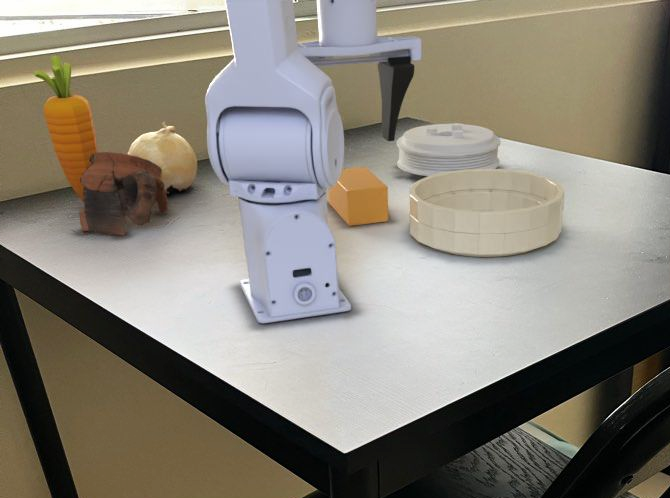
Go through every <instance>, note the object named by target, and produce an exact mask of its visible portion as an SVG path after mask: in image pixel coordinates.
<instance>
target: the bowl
mask: <svg viewBox="0 0 670 498" xmlns="http://www.w3.org/2000/svg"><path fill="white" fill-rule="evenodd" d="M408 188H409V234H410V235H411V237H413V238H414V239H415V240H416V241H417V242H418V243H421V244H423V245H425V246H427V247H430V248H432V249H434V250H436V251H439V252H443V253H447V254H451V255H456V256H463V257H475V258H498V257H507V256H508V257H509V256H514V255H515V256H516V255H520V254H525V253H528V252H532V251H534V250H537V249H539V248H542V247H545V246H548V245H549V244H551V243H552V242H554V241H556V240H557V239H558V238H559V236H560V234H561V232H562V228H563V227H562V226H563V215H564V205H565V195H566V194H565V193H566V191H565V189H564V188H563V185H562V184H561V183H559V182H558V181H556V180H555V179H552V178H550V177H548V176H544V175H541V174H538V173H534V172H529V171H523V170H517V169H505V168H504V169H503V168H502V169H501V168H495V169H466V170H457V171H449V172H444V173H439V174H435V175H431V176H424V177H423V178H420V179H419V180H416V181H415V182H414V183H413V184H412V185H411V186H410V187H408Z"/></svg>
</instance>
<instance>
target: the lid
mask: <svg viewBox="0 0 670 498" xmlns="http://www.w3.org/2000/svg"><path fill="white" fill-rule="evenodd" d="M396 146H397V148H398V150H399V151H398V154H399V155H398V156H399V157H398V159H397V162H396V165H397V168H399V169H400V170H402V171H404V172H406V173H409V174H413V175H416V176H424V177H428V176H431V175H435V174H439V173H444V172H449V171H457V170H466V169H498V167H499V166H500V162H501V161H500V158H499V157H498V156H499V155H498V154H499V150H498V149H499V147H500V146H501V139H500V137H498V135H496V134H495V133H494V131H493V130H491V129H490V128H487V127H483V126H480V125H474V124H466V123H461V122H460V123H459V122H454V123H435V124H426V125H421V126H416V127H413V128H410V129H408V130H406V131H404V133H403V135H402V136H400V137H399V138H398V139H397V140H396Z"/></svg>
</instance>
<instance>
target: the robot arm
mask: <svg viewBox="0 0 670 498" xmlns="http://www.w3.org/2000/svg"><path fill="white" fill-rule="evenodd" d="M224 4H225V9H226V10H225V11H226V15H227V21H228V22H227V23H228V27H229V34H230V39H231V46H232V52H233V59H232V60H231V61H230V62H229V63H228V64H227V65H226V66H225V67H224V68H223V69H222V70H221V71H220V72H219V73H218V74H217V75H215V77H214V78H213V80H212V81H211V83H209V86H208V88H207V89H206V93H205V96H204V98H205V99H204V105H205V110H206V111H205V112H206V123H207V127H206V145H207V153H208V158H209V163H210V166H211V168H212V170H213V171H214V174H215V176H217V178H218V179H219V180H220V182H221V183H222V184H224V185H226V186H228V189H229V196H230V197H236V198H237V199H238V207H239V214H240V215H239V216H240V223H241V229H242V237H243V245H244V253H245V260H246V267H247V274H248V278H243V279H241V280H240V281H239V286H240V289H241V290H242V292H243V294H244V297H245V299H246V300H247V303H248V305H249V307H250V309H251V311H252V313H253V315H254V317H255V319H256V321H257V322H258V323H259V324H268V323H276V322H284V321H289V320H290V321H291V320H296V319H297V320H298V319H301V318H302V319H303V318H309V317H316V316H323V315H330V314H337V313H344V312H349V311H351V310H352V304H351V303H350V301H349V300H348V298H347V297H346V296H345V294H344V293H343V292H342V291H341V289H340V287H339V277H338V276H339V275H338V263H337V262H338V260H337V247H336V246H337V245H336V238H335V235H334V233H333V230H332V228H331V227H330V225H329V217H328V216H329V215H328V203H327V202H328V201H327V191H328V189H331V188H332V187H333V186H334V185H335V183H336V182H337V181H338V180H339V178H340V176H341V173H342V169H344V162H345V161H344V160H345V133H344V126H343V121H342V117H341V114H340V112H339V108H338V103H337V96H336V89H335V87H334V86H333V80H332V79H331V78H330V77H329V75H327V73H325V72H324V71H323V70H322V69H320V67H331V66H333V67H334V66H335V67H336V66H345V65H360V64H362V65H363V64H373V63H377V70H378V79H379V86H380V97H381V98H380V99H381V134H382V138H383V139H384V140H386V141H387V142H394V141H395V137H396V132H397V131H396V130H397V125H398V121H399V116H400V111H401V109H402V105H403V102H404V99H405V96H406V93H407V91H408V89H409V86H410V85H411V82H412V80H413V79H414V76H415V64H413V63H412V62H418V61H419V62H420V61H422V39H421V38H419V37H417V36H395V37H393V36H391V37H390V36H388V37H378V16H377V14H378V13H377V0H316V9H317V11H316V12H317V24H318V25H317V26H318V40H313V41H305V42H299V41H298V33H297V25H296V16H295V8H294V7H295V6H294V0H224ZM298 42H299V43H298ZM368 55H369V56H368ZM357 56H358V57H357ZM334 57H341V58H334Z"/></svg>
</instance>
